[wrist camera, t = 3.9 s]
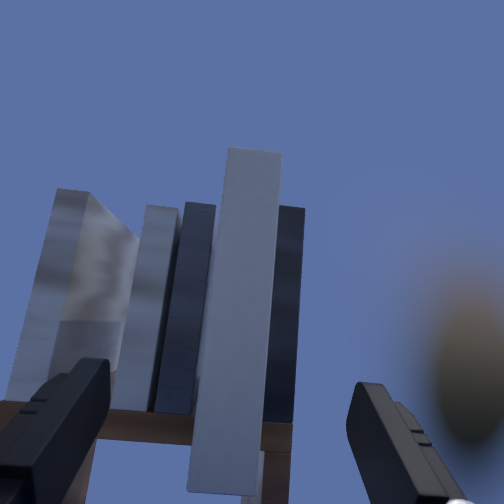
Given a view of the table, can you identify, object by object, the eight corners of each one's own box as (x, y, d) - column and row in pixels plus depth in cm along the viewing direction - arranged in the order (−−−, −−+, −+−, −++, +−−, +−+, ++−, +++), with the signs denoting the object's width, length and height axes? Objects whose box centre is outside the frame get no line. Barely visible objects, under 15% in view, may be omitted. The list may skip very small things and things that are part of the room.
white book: (256, 498, 10) (283, 151, 12) (185, 493, 10) (228, 144, 12) (237, 380, 29) (249, 255, 32) (213, 378, 29) (227, 253, 32)
